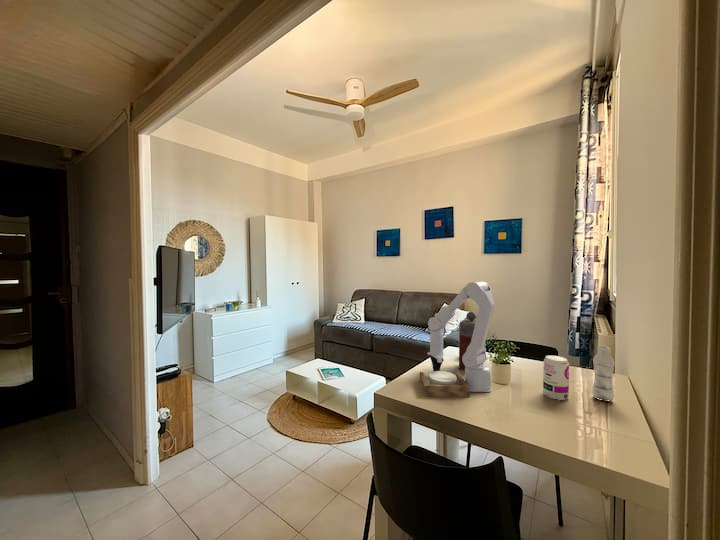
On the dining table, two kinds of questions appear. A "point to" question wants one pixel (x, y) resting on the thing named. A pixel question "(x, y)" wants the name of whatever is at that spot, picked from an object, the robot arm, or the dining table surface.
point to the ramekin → (442, 378)
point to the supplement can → (556, 377)
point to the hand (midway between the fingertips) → (436, 372)
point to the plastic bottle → (603, 374)
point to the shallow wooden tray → (445, 388)
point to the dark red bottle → (465, 335)
